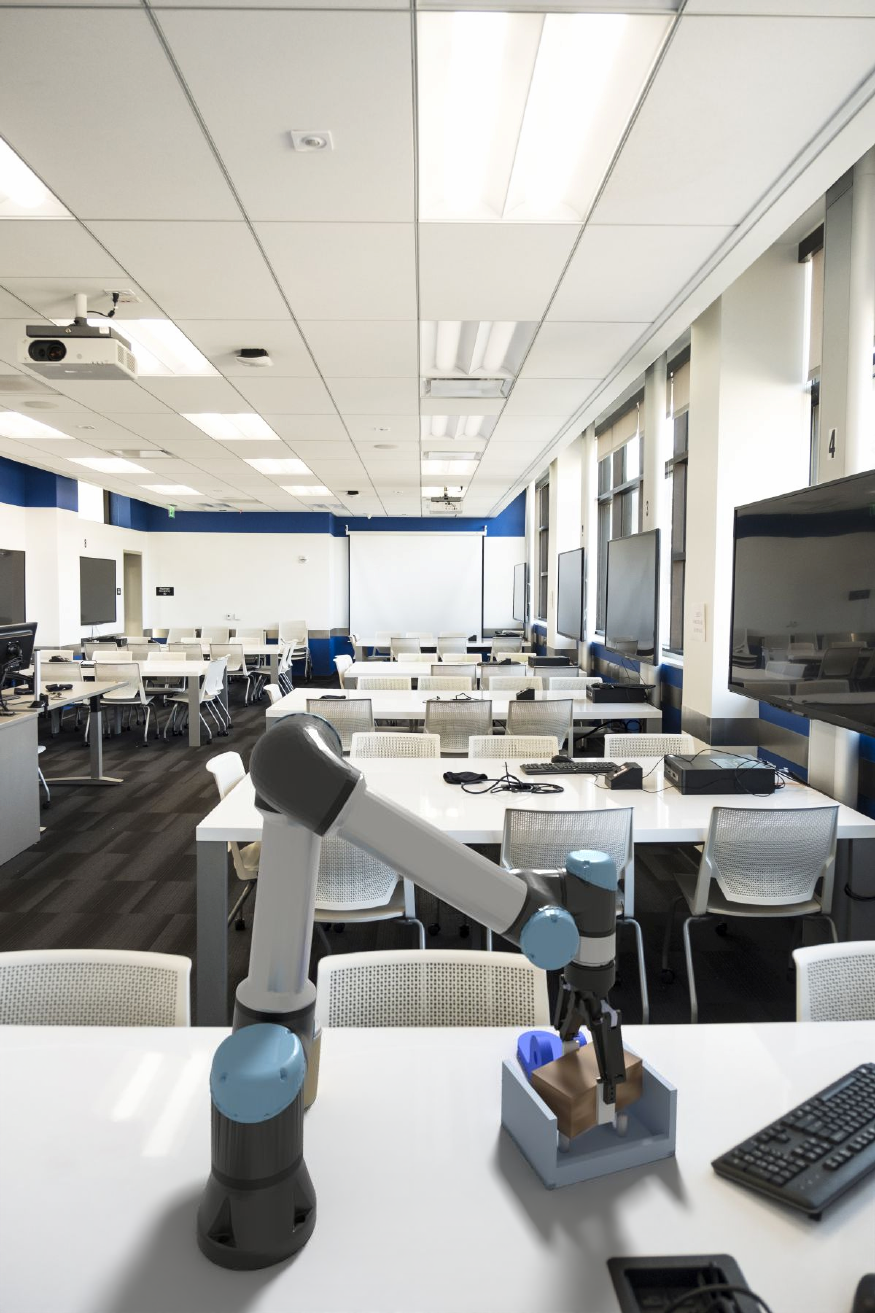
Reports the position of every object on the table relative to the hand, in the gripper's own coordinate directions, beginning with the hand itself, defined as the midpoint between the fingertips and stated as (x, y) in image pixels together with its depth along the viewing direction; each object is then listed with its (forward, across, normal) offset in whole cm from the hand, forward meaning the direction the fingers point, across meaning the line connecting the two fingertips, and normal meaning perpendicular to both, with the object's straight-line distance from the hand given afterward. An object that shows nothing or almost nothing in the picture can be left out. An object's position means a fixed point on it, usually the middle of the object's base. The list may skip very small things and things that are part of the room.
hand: (586, 1101), depth 117 cm
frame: (+6, 0, 0) cm, 6 cm away
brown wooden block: (0, 0, 0) cm, 0 cm away
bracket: (+6, +18, -4) cm, 20 cm away
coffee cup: (+6, +25, +40) cm, 48 cm away
